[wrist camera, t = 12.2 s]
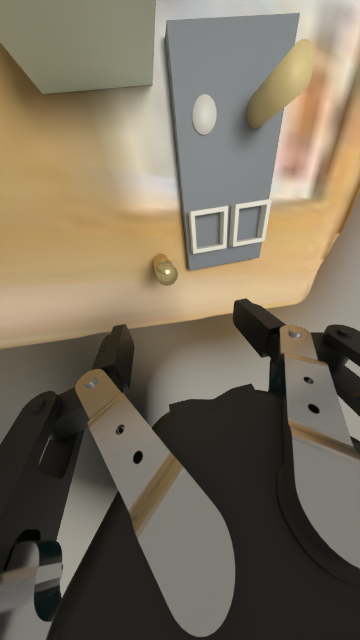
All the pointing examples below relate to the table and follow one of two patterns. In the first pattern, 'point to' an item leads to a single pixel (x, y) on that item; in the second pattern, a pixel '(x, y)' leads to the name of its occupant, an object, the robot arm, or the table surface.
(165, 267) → the pin
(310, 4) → the table surface
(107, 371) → the robot arm
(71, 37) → the block
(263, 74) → the board
